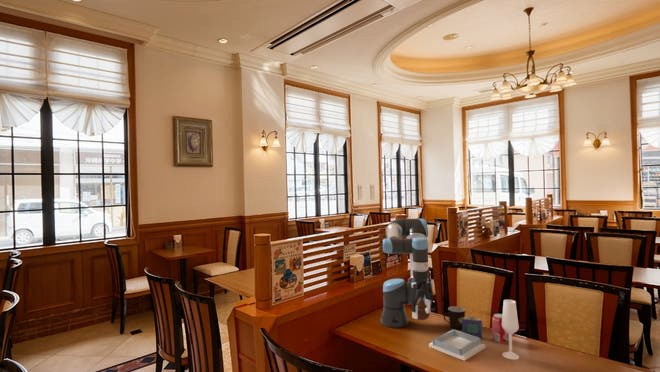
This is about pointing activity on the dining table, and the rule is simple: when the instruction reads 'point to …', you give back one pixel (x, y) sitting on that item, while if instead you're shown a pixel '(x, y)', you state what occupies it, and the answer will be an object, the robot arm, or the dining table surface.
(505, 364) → the dining table surface
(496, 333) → the soda can
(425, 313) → the poop emoji
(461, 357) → the white square tray
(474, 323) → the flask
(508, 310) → the champagne flute
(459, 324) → the coffee mug
